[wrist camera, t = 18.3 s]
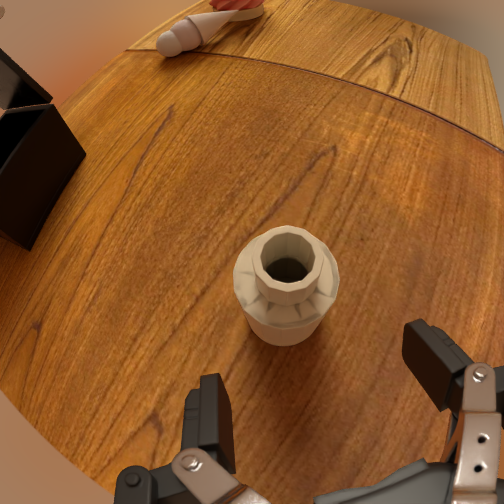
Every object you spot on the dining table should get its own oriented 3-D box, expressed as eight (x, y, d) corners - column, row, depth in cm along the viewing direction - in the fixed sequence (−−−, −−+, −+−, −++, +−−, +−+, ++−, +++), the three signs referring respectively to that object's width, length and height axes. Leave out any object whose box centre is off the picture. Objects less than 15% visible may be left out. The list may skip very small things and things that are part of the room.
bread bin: (30, 251, 27) (-22, 212, 19) (-12, 230, 29) (-53, 196, 21) (86, 153, 32) (53, 103, 24) (37, 149, 34) (6, 109, 26)
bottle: (309, 354, 21) (333, 333, 12) (236, 333, 22) (208, 297, 13) (328, 285, 23) (357, 220, 14) (259, 266, 25) (248, 193, 15)
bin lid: (-34, 27, 10) (6, -17, 11) (-64, 57, 12) (-36, 19, 13) (49, 103, 24) (75, 63, 25) (3, 110, 26) (24, 75, 27)
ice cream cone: (246, 29, 42) (169, 70, 42) (227, 6, 40) (151, 45, 40) (252, 13, 36) (165, 57, 36) (231, -11, 34) (146, 30, 34)
